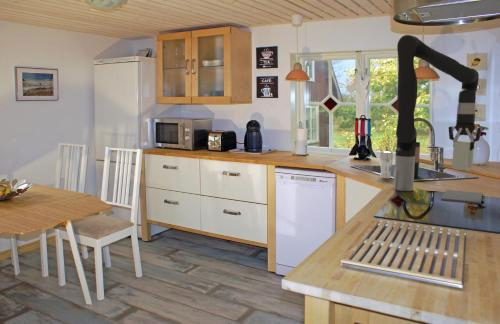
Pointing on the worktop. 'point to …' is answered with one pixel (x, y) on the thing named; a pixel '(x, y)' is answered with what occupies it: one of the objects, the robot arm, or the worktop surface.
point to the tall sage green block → (462, 155)
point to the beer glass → (386, 164)
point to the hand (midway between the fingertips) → (463, 149)
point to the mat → (462, 196)
